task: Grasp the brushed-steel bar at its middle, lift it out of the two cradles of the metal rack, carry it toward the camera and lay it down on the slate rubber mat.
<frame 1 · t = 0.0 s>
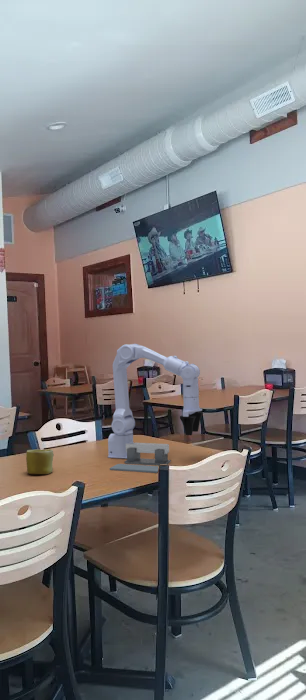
hand: (192, 433, 212), 10 cm above the table, fingers open, 7 cm apart
rail: (147, 452, 210), point 4 cm above the table, touching rack
rack: (147, 462, 210), on the table
mat: (137, 469, 201), on the table
mug: (43, 472, 201), on the table
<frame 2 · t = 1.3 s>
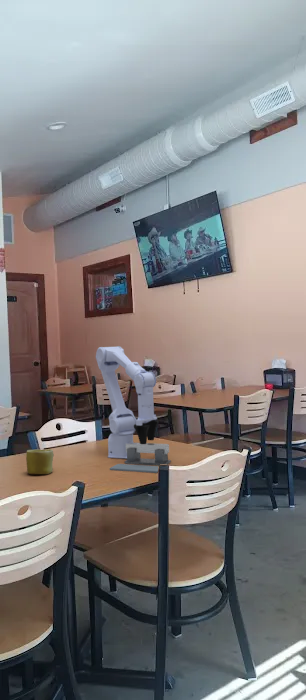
hand: (147, 442, 210), 8 cm above the table, fingers open, 7 cm apart
nothing on the table moved.
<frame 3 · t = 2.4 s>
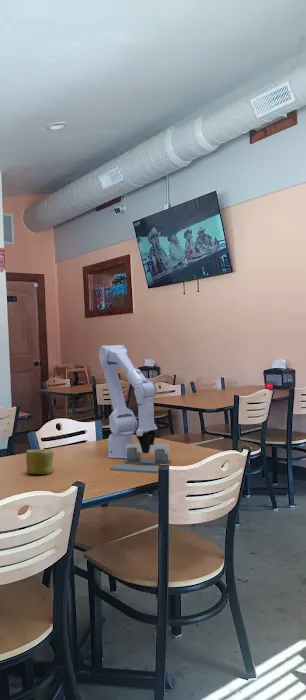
hand: (147, 452, 210), 4 cm above the table, fingers closed on rail, 3 cm apart
rail: (147, 452, 210), point 4 cm above the table, touching gripper, rack
everything else where it was.
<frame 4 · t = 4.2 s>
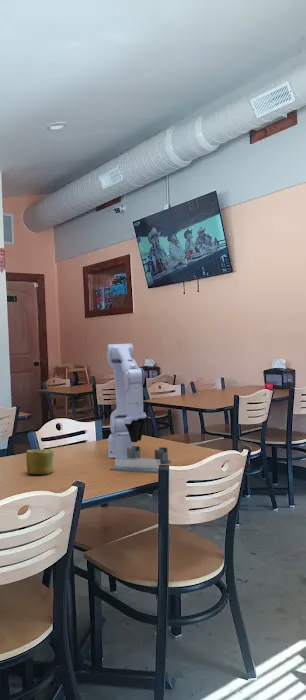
hand: (136, 441, 201), 10 cm above the table, fingers open, 3 cm apart
rail: (139, 462, 202), point 2 cm above the table, tilted 90°, touching mat
everything else where it was.
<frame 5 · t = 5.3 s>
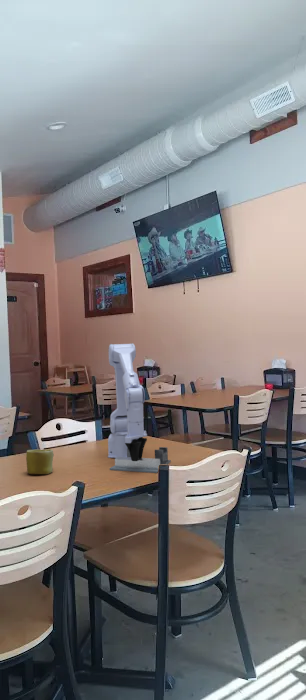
hand: (136, 460, 201), 3 cm above the table, fingers closed on rail, 3 cm apart
rail: (139, 461, 202), point 2 cm above the table, tilted 94°, touching gripper, mat
everything else where it was.
when the fingers open (3 cm above the table, at t = 5.8 s): rail stays where it is, resting on mat.
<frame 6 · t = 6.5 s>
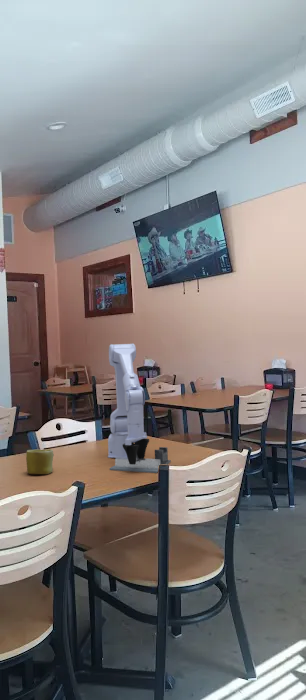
hand: (136, 461, 201), 3 cm above the table, fingers open, 7 cm apart
rail: (139, 462, 202), point 2 cm above the table, tilted 90°, touching mat
everything else where it was.
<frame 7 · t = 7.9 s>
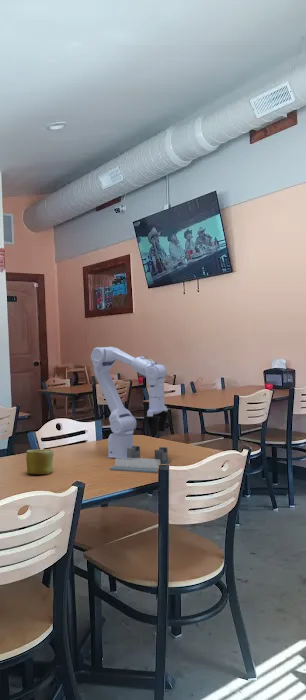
hand: (157, 433, 213), 10 cm above the table, fingers open, 7 cm apart
nothing on the table moved.
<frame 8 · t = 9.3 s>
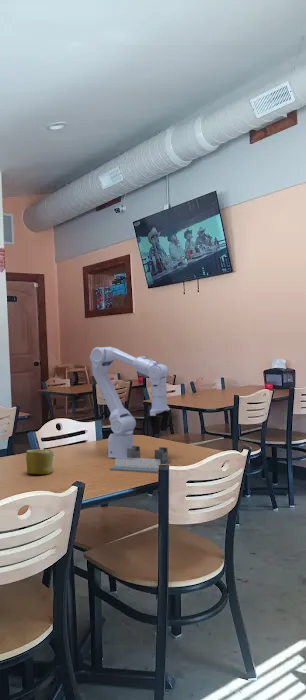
hand: (160, 432, 215), 10 cm above the table, fingers open, 7 cm apart
nothing on the table moved.
at the end: rail inside the target area on the mat (1.4 cm from its centre), point 2.1 cm above the mat's base; rail touching mat; the gripper is holding nothing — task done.
